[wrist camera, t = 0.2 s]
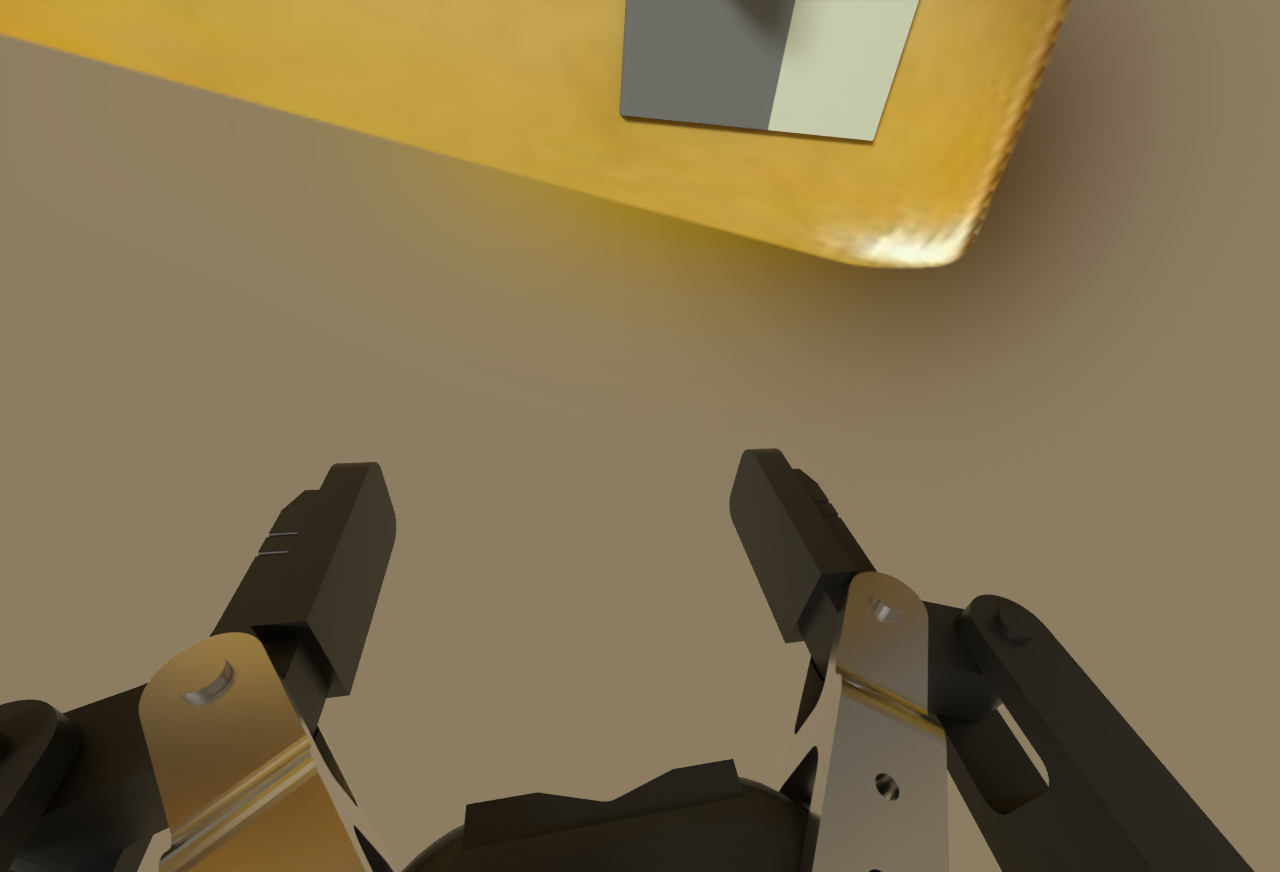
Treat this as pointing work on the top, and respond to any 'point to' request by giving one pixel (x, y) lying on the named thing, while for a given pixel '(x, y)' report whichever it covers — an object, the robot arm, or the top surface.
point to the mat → (764, 62)
